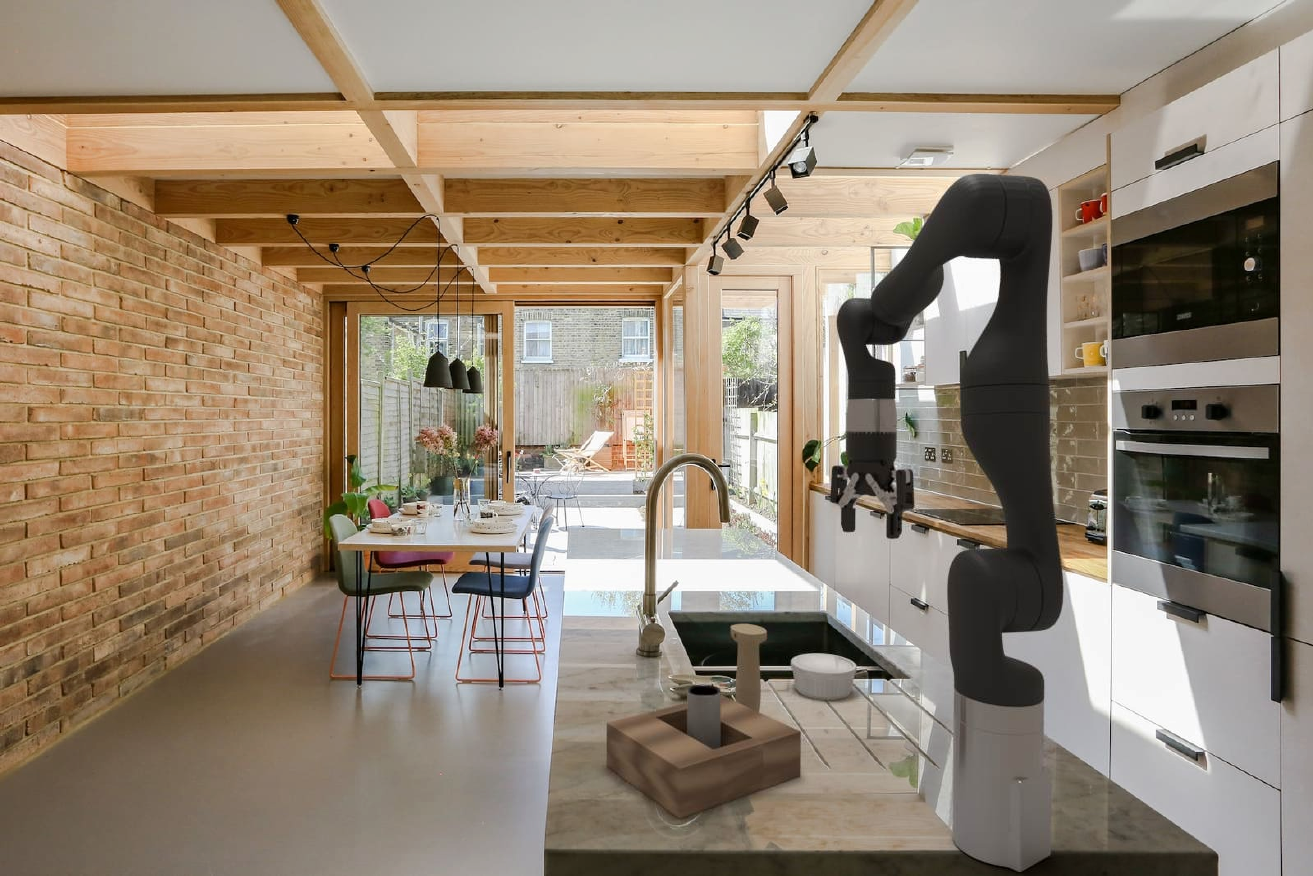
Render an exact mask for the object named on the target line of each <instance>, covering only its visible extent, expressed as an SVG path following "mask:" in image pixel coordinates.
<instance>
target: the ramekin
mask: <svg viewBox="0 0 1313 876" xmlns="http://www.w3.org/2000/svg"><path fill="white" fill-rule="evenodd" d="M790 667H791V669H792V674H793V680H794V687H795V688H796V690H797V691H798V692H799V693H800V694H801V695H802V696H804V697H807V698H809V699H813V700H820V701H838V700H843V699H845V698H847V697H848V696H849V695H850V694H851V693H852V689H853V686H854V685H853V684H854V679H855V674H856V673H857V664H856V663H855V662H854V661H853V660H851V659H849V658H846V657H843V656H841V655H835V654H830V653H821V652H820V653H818V652H817V653H815V652H814V653H804V654H799V655H796V656H793V657H792V659H790Z"/></svg>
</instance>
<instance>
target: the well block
mask: <svg viewBox="0 0 1313 876" xmlns="http://www.w3.org/2000/svg"><path fill="white" fill-rule="evenodd" d="M801 733H802V731H801V730H798V729H796V728H794V727H792V726H789V725H788V724H785V723H782V722H780V721H779V720H776V719H775V718H772V717H770V716H768V715H766V714H764V713H761V712H760V711H759V712H757V711H755V710H753V709H751V708H749V707H746V706H744V705H742V704H740V703H738V702H736V700H734V699H731V698H730V697H727V696H725V695H723V694H721V748H717V749H714V750H713V749H711V748H709V747H708V746H706V745H704V744H702V743H701V742H699V741H697V740H695V739H693V738H692V737H690V736H688V735H687V702H685V703H684V702H683V703H682V704H677V705H673V706H669V707H664V708H662V709H661V708H660V709H656V710H652V711H649V712H645V713H644V712H643V713H640V714H637V715H633V716H628V717H625V718H620V719H617V720H616V719H615V720H613V721H609V722H606V767H607V768H608V769H610V770H611V771H612V772H614V773H615V774H617V775H618V776H619V777H621V778H622V779H624V780H625V781H627V782H628V783H630V785H632V786H633V787H635V788H636V789H637V790H639V791H641V792H642V793H643V794H645V796H646V797H649V798H650V799H652V801H654V802H656V803H657V804H658V805H659V806H661V807H662V808H664V809H665V810H667V811H668V812H669V813H671V814H672V815H674V816H675V817H676V818H678V819H682V818H685V817H688V816H692V815H694V814H696V813H699V812H702V811H707V810H708V809H711V808H713V807H717V806H719V805H722V804H725V803H728V802H730V801H734V800H737V799H739V798H743V797H745V796H748V795H751V794H754V793H756V792H759V791H762V790H764V789H767V788H771V787H774V786H776V785H779V784H783V783H784V782H788V781H791V780H793V779H796V778H799V777H801V774H802V773H801V770H802V769H801V767H802V766H801V761H802V760H801V753H802V752H801V751H802V750H801V749H802V747H801V746H802V745H801V744H802V742H801V741H802V739H801V738H802V734H801Z"/></svg>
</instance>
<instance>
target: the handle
mask: <svg viewBox="0 0 1313 876" xmlns="http://www.w3.org/2000/svg"><path fill="white" fill-rule="evenodd" d="M730 635H731V638H732V640H733V641H735V642H736V643H737V660H736V675H735V676H736V677H735V701H736V702H738V703H740V704H742V705H744V706H746V707H749V708H751V709H753V710H755V711H757V712H759V713H760V709H761V708H760V707H761V696H762V695H761V694H762V692H761V690H762V689H761V684H762V683H761V667H760V644H762V643H764V642H765V641H767V638H768V631H767V630H766V629H765V628H764V627H762V626H759V625H756V624H750V623H736V624H732V625H730Z"/></svg>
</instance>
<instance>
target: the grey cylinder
mask: <svg viewBox="0 0 1313 876" xmlns="http://www.w3.org/2000/svg"><path fill="white" fill-rule="evenodd" d="M721 695H722V692H721V689H720V687H717V686H714V685H712V684H695V685H694V684H693V685H691V686H689V687H688V688H687V691H686V703H687V735H688V736H690V737H692V738H693V739H695V740H697V741H699V742H701V743H702V744H704V745H706V746H708V747H709V748H711V749H713V750H714V749H717V748H721Z"/></svg>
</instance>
